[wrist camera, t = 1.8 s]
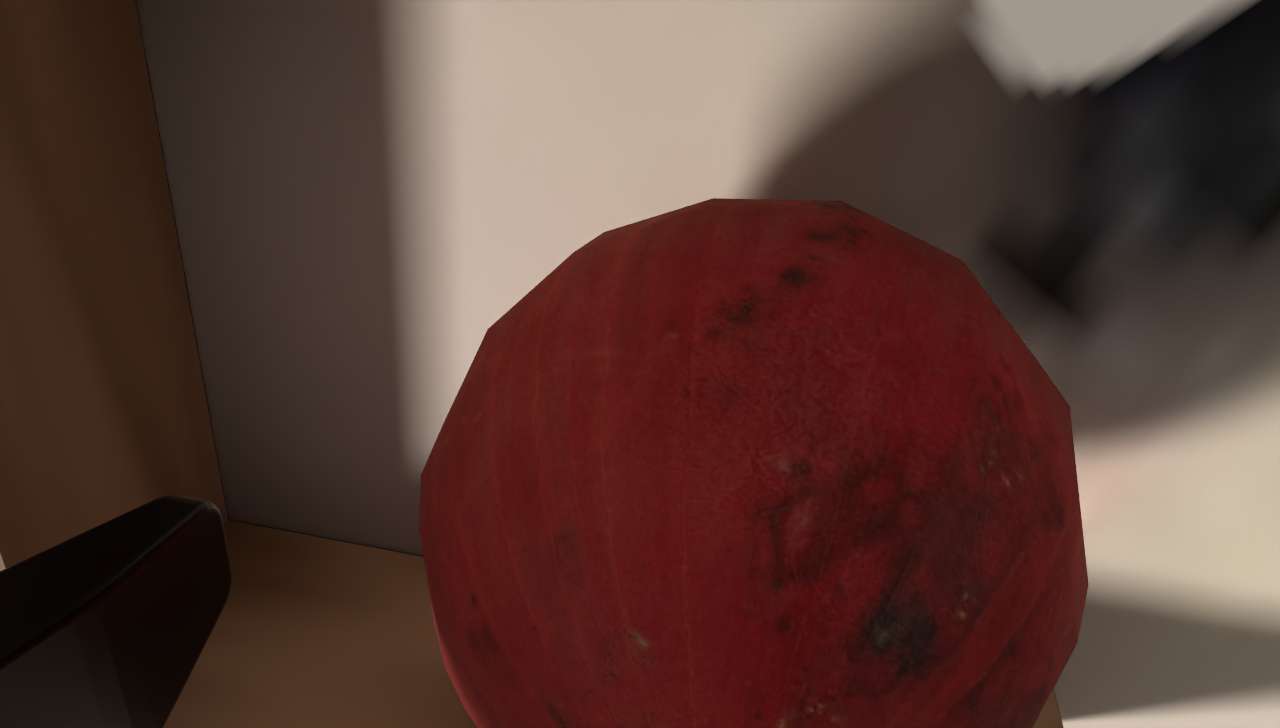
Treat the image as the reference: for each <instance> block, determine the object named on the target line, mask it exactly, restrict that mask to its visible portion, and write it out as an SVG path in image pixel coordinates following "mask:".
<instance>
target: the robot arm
mask: <svg viewBox="0 0 1280 728" xmlns="http://www.w3.org/2000/svg"><path fill="white" fill-rule="evenodd" d="M231 585H232V569H231V564H230V558H229V553H228V547H227V542H226V536H225V531H224V525H223V520H222V515H221V512H220V510H219V509H218V507H217V506H216V505H215V504H214V503H211V502H210V501H206V500H201V499H196V498H190V497H185V496H179V495H165V496H162V497H159V498H157V499H154V500H152V501H150V502H148V503H146V504H144V505H142V506H139V507H137V508H135V509H133V510H131V511H129V512H126V513H124V514H122V515H120V516H118V517H116V518H114V519H111V520H109V521H107V522H105V523H103V524H101V525H98V526H96V527H94V528H92V529H90V530H88V531H86V532H83V533H81V534H79V535H77V536H75V537H73V538H71V539H68V540H66V541H64V542H62V543H60V544H58V545H55V546H53V547H51V548H49V549H47V550H45V551H43V552H40V553H38V554H36V555H34V556H32V557H30V558H27V559H25V560H23V561H21V562H19V563H17V564H15V565H12V566H10V567H8V568H6V569H4V570H2V571H0V728H164V726H165V724H166V722H167V720H168V718H169V716H170V714H171V712H172V710H173V708H174V706H175V704H176V702H177V700H178V698H179V696H180V694H181V692H182V690H183V688H184V686H185V684H186V682H187V680H188V678H189V676H190V674H191V672H192V670H193V668H194V666H195V664H196V662H197V660H198V658H199V656H200V654H201V652H202V650H203V648H204V646H205V644H206V642H207V640H208V638H209V636H210V634H211V632H212V630H213V628H214V626H215V624H216V622H217V620H218V618H219V616H220V614H221V612H222V610H223V608H224V606H225V604H226V602H227V600H228V597H229V594H230V590H231Z"/></svg>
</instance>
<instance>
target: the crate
mask: <svg viewBox="0 0 1280 728" xmlns="http://www.w3.org/2000/svg"><path fill="white" fill-rule="evenodd" d="M165 495H179V496H185V497H190V498H196V499H201V500H206V501H210V502H211V503H214V504H215V505H216V506H217V507H218V509H219V510H220V512H221V515H222V520H223V525H224V531H225V536H226V542H227V547H228V553H229V558H230V564H231V569H232V585H231V590H230V594H229V597H228V600H227V602H226V604H225V606H224V608H223V610H222V612H221V614H220V616H219V618H218V620H217V622H216V624H215V626H214V628H213V630H212V632H211V634H210V636H209V638H208V640H207V642H206V644H205V646H204V648H203V650H202V652H201V654H200V656H199V658H198V660H197V662H196V664H195V666H194V668H193V670H192V672H191V674H190V676H189V678H188V680H187V682H186V684H185V686H184V688H183V690H182V692H181V694H180V696H179V698H178V700H177V702H176V704H175V706H174V708H173V710H172V712H171V714H170V716H169V718H168V720H167V722H166V724H165V726H164V728H478V727H477V725H476V724H475V723H474V721H473V720H472V718H471V717H470V715H469V714H468V712H467V711H466V710H465V708H464V706H463V704H462V702H461V700H460V697H459V695H458V693H457V691H456V689H455V687H454V685H453V683H452V680H451V678H450V676H449V674H448V672H447V670H446V668H445V664H444V660H443V656H442V652H441V648H440V644H439V640H438V636H437V632H436V628H435V625H434V619H433V613H432V607H431V600H430V594H429V588H428V582H427V576H426V569H425V563H424V557H421V556H416V555H410V554H405V553H400V552H394V551H389V550H384V549H378V548H373V547H368V546H362V545H357V544H352V543H346V542H341V541H336V540H330V539H325V538H320V537H314V536H309V535H304V534H298V533H293V532H288V531H282V530H277V529H272V528H266V527H261V526H256V525H250V524H245V523H240V522H234V521H229V520H228V518H227V512H226V506H225V501H224V495H223V490H222V484H221V478H220V473H219V467H218V462H217V456H216V450H215V445H214V439H213V434H212V428H211V423H210V417H209V411H208V406H207V400H206V395H205V389H204V383H203V378H202V372H201V367H200V361H199V355H198V350H197V344H196V339H195V333H194V327H193V322H192V316H191V311H190V305H189V299H188V294H187V288H186V283H185V277H184V272H183V266H182V260H181V255H180V249H179V244H178V238H177V232H176V227H175V221H174V216H173V210H172V204H171V199H170V193H169V188H168V182H167V176H166V171H165V165H164V160H163V154H162V148H161V143H160V137H159V132H158V126H157V121H156V115H155V109H154V104H153V98H152V93H151V87H150V81H149V76H148V70H147V65H146V59H145V53H144V48H143V42H142V37H141V31H140V25H139V20H138V14H137V9H136V3H135V0H0V571H2V570H4V569H6V568H8V567H10V566H12V565H15V564H17V563H19V562H21V561H23V560H25V559H27V558H30V557H32V556H34V555H36V554H38V553H40V552H43V551H45V550H47V549H49V548H51V547H53V546H55V545H58V544H60V543H62V542H64V541H66V540H68V539H71V538H73V537H75V536H77V535H79V534H81V533H83V532H86V531H88V530H90V529H92V528H94V527H96V526H98V525H101V524H103V523H105V522H107V521H109V520H111V519H114V518H116V517H118V516H120V515H122V514H124V513H126V512H129V511H131V510H133V509H135V508H137V507H139V506H142V505H144V504H146V503H148V502H150V501H152V500H154V499H157V498H159V497H162V496H165ZM1033 728H1063V724H1062V720H1061V716H1060V712H1059V708H1058V704H1057V700H1056V696H1055V692H1054V688H1053V690H1052V692H1051V694H1050V696H1049V698H1048V700H1047V701H1046V703H1045V705H1044V707H1043V709H1042V711H1041V713H1040V715H1039V717H1038V719H1037V721H1036V722H1035V724H1034V726H1033Z"/></svg>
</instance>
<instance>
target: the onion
mask: <svg viewBox="0 0 1280 728" xmlns="http://www.w3.org/2000/svg"><path fill="white" fill-rule="evenodd" d="M419 532H420V538H421V544H422V551H423V557H424V563H425V569H426V576H427V582H428V588H429V594H430V600H431V607H432V613H433V619H434V625H435V628H436V632H437V636H438V640H439V644H440V648H441V652H442V656H443V660H444V664H445V668H446V670H447V672H448V674H449V676H450V678H451V680H452V683H453V685H454V687H455V689H456V691H457V693H458V695H459V697H460V700H461V702H462V704H463V706H464V708H465V710H466V711H467V712H468V714H469V715H470V717H471V718H472V720H473V721H474V723H475V724H476V725H477V727H478V728H1033V726H1034V724H1035V722H1036V721H1037V719H1038V717H1039V715H1040V713H1041V711H1042V709H1043V707H1044V705H1045V703H1046V701H1047V700H1048V698H1049V696H1050V694H1051V692H1052V690H1053V688H1054V686H1055V684H1056V682H1057V680H1058V678H1059V677H1060V675H1061V673H1062V671H1063V669H1064V667H1065V665H1066V663H1067V661H1068V659H1069V657H1070V656H1071V654H1072V652H1073V650H1074V648H1075V646H1076V644H1077V640H1078V635H1079V630H1080V625H1081V620H1082V615H1083V610H1084V605H1085V599H1086V594H1087V589H1088V577H1087V568H1086V558H1085V549H1084V539H1083V530H1082V520H1081V511H1080V501H1079V492H1078V482H1077V473H1076V463H1075V454H1074V444H1073V435H1072V425H1071V416H1070V406H1069V405H1068V403H1067V402H1066V401H1065V399H1064V398H1063V396H1062V395H1061V393H1060V392H1059V391H1058V389H1057V388H1056V386H1055V385H1054V384H1053V382H1052V381H1051V379H1050V378H1049V377H1048V375H1047V374H1046V372H1045V371H1044V369H1043V368H1042V367H1041V365H1040V364H1039V362H1038V361H1037V360H1036V358H1035V357H1034V356H1033V354H1032V353H1031V351H1030V350H1029V349H1028V347H1027V346H1026V345H1025V343H1024V342H1023V341H1022V339H1021V338H1020V337H1019V335H1018V334H1017V333H1016V331H1015V330H1014V329H1013V327H1012V326H1011V325H1010V323H1009V322H1008V321H1007V319H1006V318H1005V317H1004V315H1003V314H1002V313H1001V311H1000V310H999V309H998V307H997V306H996V305H995V303H994V302H993V301H992V299H991V298H990V297H989V295H988V294H987V293H986V291H985V290H984V289H983V287H982V286H981V285H980V283H979V282H978V281H977V279H976V278H975V277H974V275H973V274H972V272H971V271H970V270H969V268H968V267H967V266H966V264H965V263H964V262H963V261H962V260H960V259H958V258H956V257H954V256H952V255H950V254H948V253H946V252H944V251H942V250H940V249H938V248H936V247H934V246H932V245H929V244H927V243H925V242H923V241H921V240H919V239H917V238H915V237H913V236H911V235H909V234H907V233H905V232H903V231H901V230H899V229H897V228H895V227H893V226H891V225H889V224H887V223H885V222H882V221H880V220H878V219H876V218H874V217H872V216H870V215H868V214H866V213H864V212H862V211H860V210H858V209H856V208H854V207H852V206H850V205H848V204H846V203H844V202H842V201H801V200H757V199H714V198H713V199H710V200H707V201H704V202H700V203H697V204H694V205H691V206H688V207H684V208H681V209H678V210H675V211H671V212H668V213H665V214H662V215H658V216H655V217H652V218H649V219H646V220H642V221H639V222H636V223H633V224H629V225H626V226H623V227H620V228H617V229H613V230H610V231H607V232H604V233H602V234H601V235H599V236H598V237H596V238H595V239H593V240H592V241H590V242H589V243H587V244H586V245H584V246H583V247H581V248H580V249H578V250H577V251H575V252H574V253H573V254H571V255H570V256H569V257H568V258H567V259H566V260H565V261H564V262H563V263H561V264H560V265H559V266H558V267H557V268H556V269H555V270H554V271H553V272H551V273H550V274H549V275H548V276H547V277H546V278H545V279H544V280H542V281H541V282H540V283H539V284H538V285H537V286H536V287H535V288H534V289H532V290H531V291H530V292H529V293H528V294H527V295H526V296H525V297H523V298H522V299H521V300H520V301H519V302H518V303H517V304H516V305H515V306H513V307H512V308H511V309H510V310H509V311H508V312H507V313H506V314H504V315H503V316H502V317H501V318H500V319H499V320H498V321H497V322H496V323H494V324H493V325H492V326H491V327H490V328H489V329H488V330H487V332H486V335H485V337H484V339H483V341H482V343H481V345H480V347H479V349H478V352H477V354H476V356H475V358H474V360H473V362H472V364H471V366H470V369H469V371H468V373H467V375H466V377H465V379H464V381H463V383H462V386H461V388H460V390H459V392H458V394H457V396H456V398H455V400H454V402H453V405H452V407H451V409H450V411H449V413H448V415H447V417H446V419H445V422H444V424H443V426H442V428H441V431H440V433H439V435H438V437H437V440H436V442H435V444H434V446H433V449H432V451H431V453H430V456H429V458H428V460H427V462H426V465H425V467H424V469H423V472H422V474H421V492H420V513H419Z"/></svg>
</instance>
